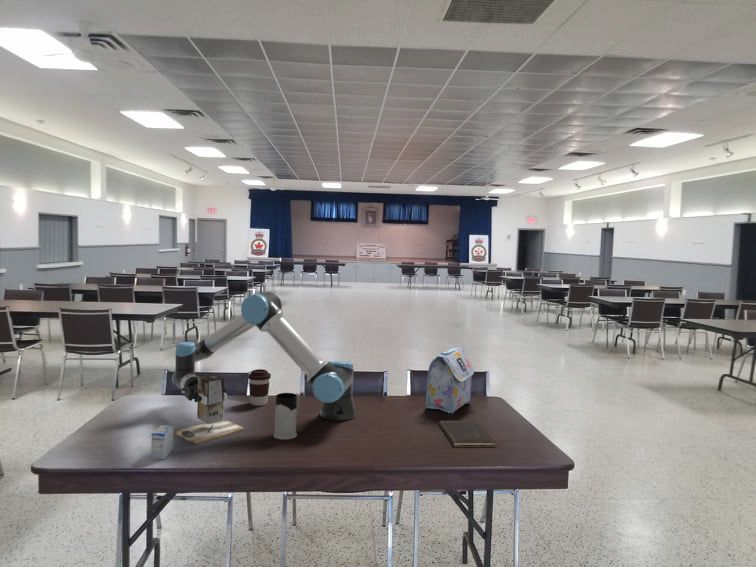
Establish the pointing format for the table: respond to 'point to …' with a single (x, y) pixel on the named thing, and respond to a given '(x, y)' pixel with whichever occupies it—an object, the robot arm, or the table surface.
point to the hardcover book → (466, 433)
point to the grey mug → (286, 415)
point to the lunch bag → (449, 381)
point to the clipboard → (208, 431)
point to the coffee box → (211, 399)
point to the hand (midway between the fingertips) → (216, 399)
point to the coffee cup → (259, 386)
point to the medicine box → (162, 442)
